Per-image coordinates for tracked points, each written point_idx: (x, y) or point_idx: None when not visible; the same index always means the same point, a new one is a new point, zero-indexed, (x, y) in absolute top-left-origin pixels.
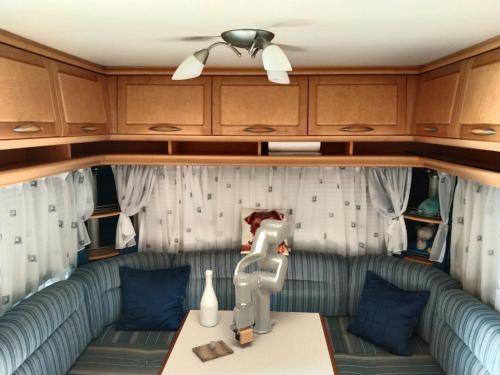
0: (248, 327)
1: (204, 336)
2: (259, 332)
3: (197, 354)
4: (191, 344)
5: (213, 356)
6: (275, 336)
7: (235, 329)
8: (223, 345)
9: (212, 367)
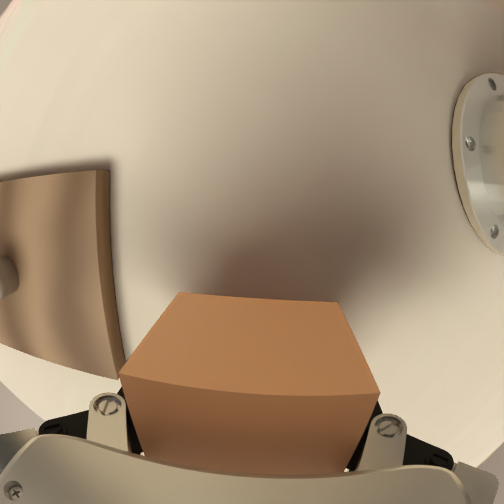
0: (332, 464)
1: (74, 28)
2: (480, 232)
3: None
4: None
5: (7, 345)
6: (499, 319)
7: (97, 436)
8: (72, 274)
9: (14, 382)
